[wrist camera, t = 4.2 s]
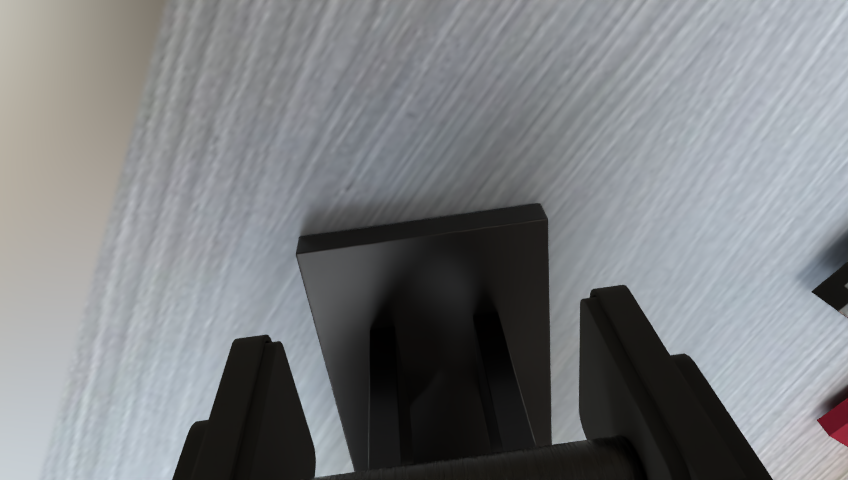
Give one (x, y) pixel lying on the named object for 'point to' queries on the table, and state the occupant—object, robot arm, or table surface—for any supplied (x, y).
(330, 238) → the bracket
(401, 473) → the tap lever
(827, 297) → the red board with handle
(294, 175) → the table surface
